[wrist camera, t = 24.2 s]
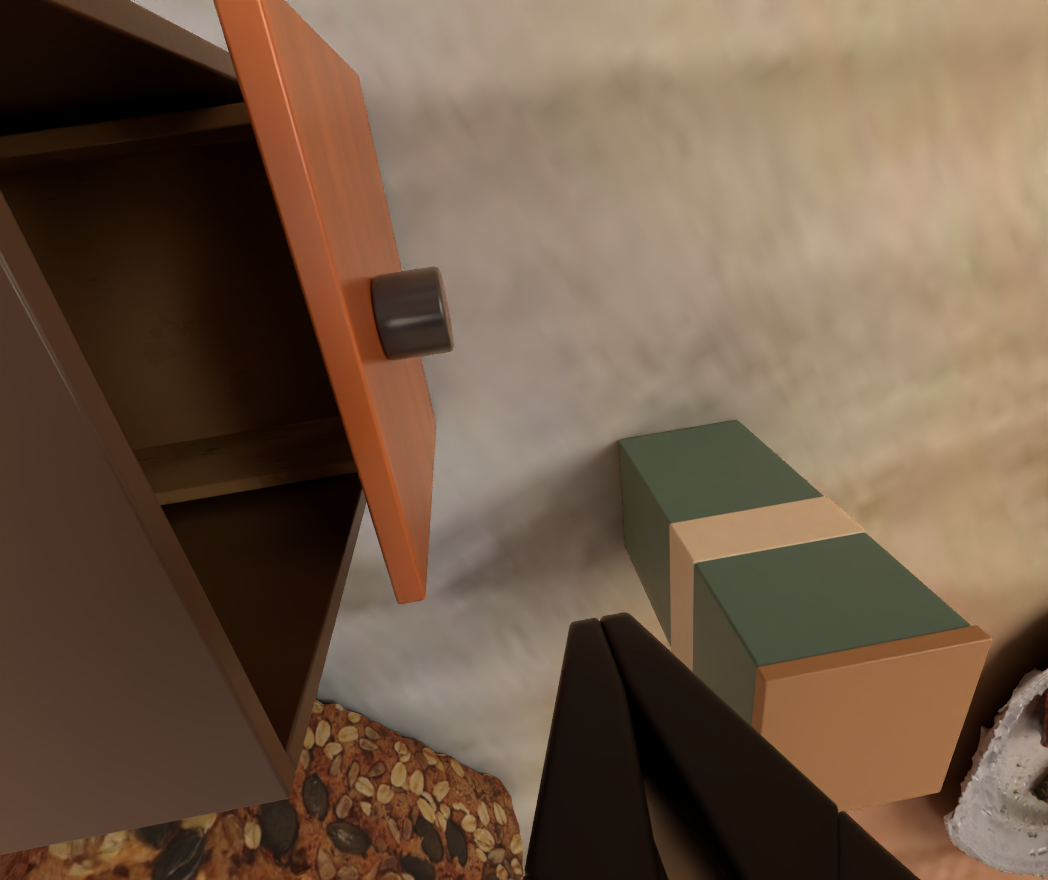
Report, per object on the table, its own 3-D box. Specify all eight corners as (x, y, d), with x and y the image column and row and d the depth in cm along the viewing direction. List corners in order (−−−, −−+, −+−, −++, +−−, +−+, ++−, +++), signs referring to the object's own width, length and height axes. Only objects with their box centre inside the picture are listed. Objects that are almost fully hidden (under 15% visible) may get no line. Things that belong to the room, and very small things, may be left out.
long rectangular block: (738, 417, 21) (993, 638, 11) (733, 528, 23) (941, 793, 13) (616, 438, 21) (765, 682, 11) (623, 548, 23) (751, 832, 13)
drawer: (410, 65, 15) (364, -51, 7) (476, 420, 19) (492, 588, 12) (-352, 169, 14) (-1394, 168, 6) (-90, 514, 18) (-486, 766, 11)
